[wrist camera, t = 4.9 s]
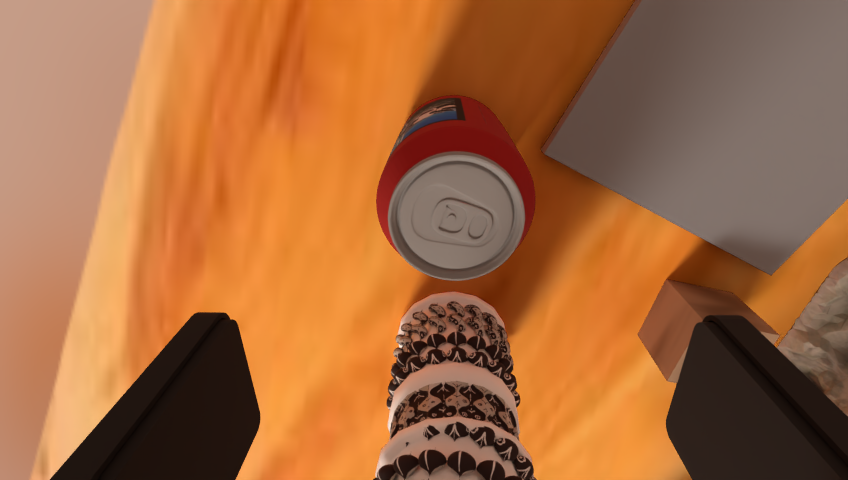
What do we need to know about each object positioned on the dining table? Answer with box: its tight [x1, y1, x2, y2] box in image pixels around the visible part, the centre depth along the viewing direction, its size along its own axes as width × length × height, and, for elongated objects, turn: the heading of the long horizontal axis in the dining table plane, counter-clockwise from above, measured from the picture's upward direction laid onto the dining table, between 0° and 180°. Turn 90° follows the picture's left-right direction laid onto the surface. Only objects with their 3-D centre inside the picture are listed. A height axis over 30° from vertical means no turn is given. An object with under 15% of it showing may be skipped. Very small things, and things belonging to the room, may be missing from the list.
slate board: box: [541, 0, 848, 275], centre depth 26 cm, size 18×15×1 cm
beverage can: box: [376, 95, 535, 281], centre depth 23 cm, size 7×7×12 cm
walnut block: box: [638, 279, 780, 383], centre depth 30 cm, size 5×5×5 cm
